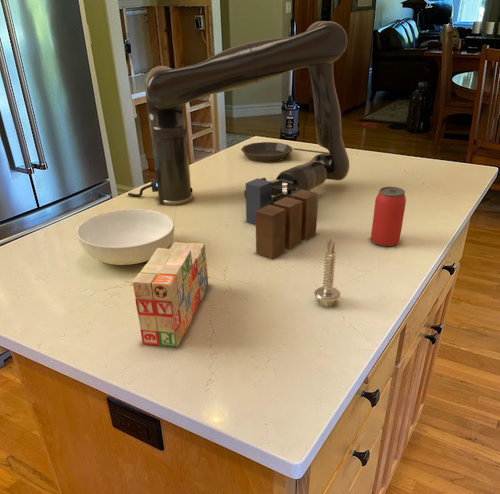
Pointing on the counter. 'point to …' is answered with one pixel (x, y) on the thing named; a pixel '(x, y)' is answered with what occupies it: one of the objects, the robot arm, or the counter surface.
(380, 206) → the beer can
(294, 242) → the line block
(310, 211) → the line block
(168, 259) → the stack of blocks
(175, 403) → the counter surface
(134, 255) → the serving bowl
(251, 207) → the block
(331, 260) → the screw
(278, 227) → the line block
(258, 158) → the frying pan
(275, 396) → the counter surface
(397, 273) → the counter surface
